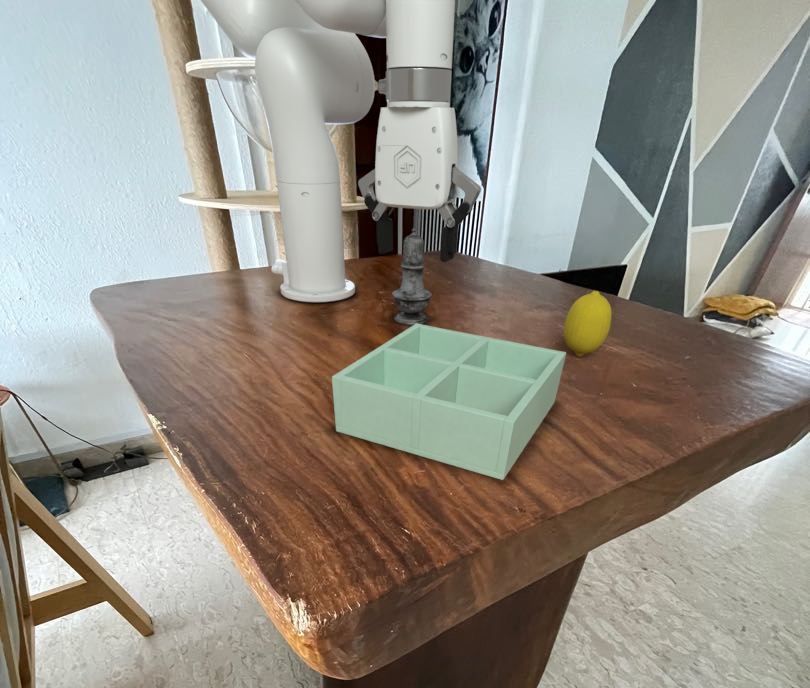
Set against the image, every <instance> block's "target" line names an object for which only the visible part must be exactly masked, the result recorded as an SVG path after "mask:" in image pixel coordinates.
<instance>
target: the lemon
mask: <svg viewBox="0 0 810 688" xmlns="http://www.w3.org/2000/svg"><path fill="white" fill-rule="evenodd" d="M611 323H612V306H611V304H610V302H609V300H608V299H607V298H605V296H603V295H602V294H601V293H600V292H599V291H598V290H592V291H591V292H590V293H586V294H584V295H582V296H580V297H579V298H578V299H576V300H575V301H574V303H573V304H572V305H571V306H570V308H569V310H568V312H567V315H566V317H565V320H564V325H563V339H564V342H565V344H566V346H567V347H568V348H569V349H570V350H571V351H573V352H574V353H575V356H577V357H579V358H581V357H583V356H584V355H586V354H588V353H592V352H594V351H596V350H598V348H600V347H601V346H602V344H603V343H604V342H605V341H606V339H607V337H608V335H609V332H610V330H611Z"/></svg>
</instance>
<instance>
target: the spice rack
mask: <svg viewBox="0 0 810 688" xmlns="http://www.w3.org/2000/svg"><path fill="white" fill-rule="evenodd" d="M566 357H567V352H566V351H561V350H556V349H551V348H547V347H546V348H545V347H541V346H535V345H529V344H525V343H520V342H514V341H510V340H504V339H499V338H494V337H489V336H483V335H478V334H473V333H468V332H463V331H457V330H453V329H447V328H441V327H437V326H432V325H426V324H417V323H416V324H415V325H411V326H410V327H408V328H407V329H405V330H404V331H401V332H400V333H399V334H397V335H396V336H393V338H391V339H389V340H388V341H386V342H384V343H383V344H382V345H379V346H378V347H376V348H375V349H374V350H372V351H370V352H368V353H367V354H366V355H364V356H362V357H361V358H358V360H356V361H354V362H353V363H351V364H350V365H347V366H346V367H345V368H343V369H342V370H340V371H339V372H337V373H335V374H334V375H332V376H331V385H332V397H333V409H334V412H333V413H334V421H335V422H334V423H335V431H336V432H338V433H340V434H344V435H347V436H352V437H354V438H358V439H361V440H365V441H368V442H371V443H375V444H378V445H381V446H384V447H389V448H392V449H395V450H399V451H402V452H406V453H409V454H412V455H416V456H419V457H423V458H426V459H429V460H432V461H436V462H440V463H442V464H446V465H450V466H453V467H456V468H459V469H464V470H467V471H470V472H474V473H477V474H480V475H484V476H488V477H491V478H494V479H498V480H501V481H504V479H505V478H506V477H507V475H508V474H509V472H510V470H511V469H512V468H513V466H514V464H515V463H516V462H517V460H518V458H519V457H520V455H521V454H522V452H523V451H524V449H525V448H526V446H527V445H528V444H529V442H530V440H531V438H532V437H533V436H534V434H535V433H536V431H537V430H538V428H539V427H540V425H541V424H542V423H543V421H544V420H545V418H546V416H547V415H548V413H549V412H550V410H551V409H552V407H553V406H554V404H555V402H556V397H557V394H558V390H559V385H560V381H561V378H562V373H563V369H564V365H565V361H566Z"/></svg>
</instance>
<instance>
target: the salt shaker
mask: <svg viewBox="0 0 810 688" xmlns="http://www.w3.org/2000/svg"><path fill="white" fill-rule="evenodd" d="M416 232H417V229H416V228H415V226H413V227H412V229H411V233H410V234H409V235H407V236H406V237H404V239H403V241H402V242H403V244H402V245H403V246H402V262H401V263H400V264H399V266H400V267H401V270H402V272H401V284H400V287H399V288H398V289H395V290H394V291H392V293H391V294H392V296H393V299H394V303H395V306H396V308H397V309H398V310H399V311H400V312H398V313H397V314H396V315H394V317H393V319H394V321H395V322H397V323H399V324H401V325H402V324H403V325H411V326H413V325H415V324H416V323H417V324H422V325H424V324H426V323H427V322H428V321H429V317H428V315H426V314H425V313H424V311H425V310H426V309H427V308H428V306H429V304H430V299H431V298H432V297H433V293H431V291H430V290H427V289H426V288H425V285H424V268H425V267H426V263H424V250H425V249H424V247H425V242H424V241H425V240H424V239H423V237H422V236H420V235H418V234H417V233H416Z"/></svg>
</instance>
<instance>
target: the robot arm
mask: <svg viewBox="0 0 810 688" xmlns="http://www.w3.org/2000/svg"><path fill="white" fill-rule="evenodd" d="M200 2H201V4H203V6H204V7H205V9H206V10H207V11H208V12H209V14H210V15H211V17H212V18H213V19H214V21H215V22H216V23H217V25H218V26H219V27H220V28H221V31H223V33H224V34H225V36H226V37H227V38H228V39H229V41H230V43H232V45H233V46H234V47H235V48H236V50H238V51H239V52H240V53H241V54H242V55H243V56H245V57H246V58H248V59H251V60H254V73H255V81H256V86H257V87H256V88H257V91H258V95H259V99H260V102H261V105H262V109H263V112H264V117H265V120H266V124H267V128H268V129H267V130H268V134H269V138H270V139H269V140H270V145H271V150H272V157H273V165H274V166H273V167H274V172H275V180H276V187H277V196H278V203H279V205H278V206H279V212H280V220H281V229H282V237H283V244H284V253H285V259H280V258H279V259H278V258H277V259H275V261H274V263H273V265H271V273H272V274H273V275H281V276H282V277H283V282H282V283H281V284H280V286H279V288H280V294H281V295H282V296H283V297H284V298H286V299H289V300H291V301H296V302H302V303H330V302H338V301H341V300H346V299H348V298H351V297H352V296H353V295H354V294H355V293H356V285H355V283H354V282H353V281H351V280H349V279H346V266H345V265H346V264H345V245H344V226H343V208H342V191H341V187H342V186H341V172H340V171H341V170H340V163H339V157H338V154H337V150H336V146H335V144H334V141H333V140H332V136H331V134H330V132H329V129H328V126H327V125H350V124H354V123H357V122H358V121H361V120H362V119H364V118H365V116H366V115H367V114H368V113H369V112H370V109H371V107H372V105H373V103H374V98H375V91H376V89H375V88H376V85H375V84H376V83H375V74H374V69H373V65H372V62H371V59H370V57H369V54H368V52H367V50H366V48H365V47H364V45H363V43H362V42H361V40H360V39H359V37H358V36H357V35H361V36H366V37H372V38H379V39H386V41H385V42H386V45H385V46H386V71H385V78H383V79H379V80H378V83H377V91H378V93H379V94H380V95H385V101H386V106H385V107H380V110H379V111H380V112H379V118H378V126H377V134H376V143H375V162H374V163H375V164H374V166H375V168H374V169H372V170H371V171H370V172H368V173H367V174H365V175H364V176H362V177H361V178H360V179H358V181H357V185H358V187H359V188H358V189H359V190H360V193H361V196H362V198H363V199H364V200H363V201H364V206H366V208H367V209H368V211H369V212H370V213H371V217H372V219H373V221H375V223H376V224H375V226H376V227H375V229H376V231H375V232H376V245H377V250H378V251H377V252H378V254H379V255H382V256H383V255H386V254H388V253H392V252H393V250H394V221H393V218H390V216H391V214H392V212H393V211H394V209H395V208H400V209H401V208H402V209H413V210H429V211H433V210H437V211H438V213H439V215H440V216H441V217H442V218H441V219H442V220H443V222H444V226H443V227H441V233H440V235H441V236H440V254H439V255H440V256H439V260H440V261H441V263H447V262H449V261H452V260H453V259H454V258H455V255H456V254H457V252H458V251H457V250H458V240H459V239H458V238H459V226H460V225H461V224H462V223H463V221H464V220H465V219H466V218H467V217H468V216H469V215H470V214H471V212H473V208H474V205H475V204H476V203H477V200H478V198H479V196H480V194H481V192H482V187H481V186H480V184H478V183H477V182H475V180H473V179H471V177H469V176H468V175H467V174H466V173H464V172H463V171H461V170H460V169H459V152H458V151H459V149H458V148H459V147H458V131H457V119H456V111H455V107H451V93H452V92H451V91H452V69H453V52H454V49H453V48H454V31H455V30H454V29H455V9H456V0H200ZM356 34H357V35H356ZM458 188H459V189H461V190H462V191H463V193H464V198H463V200H462V202H461V204H460V205H458V207H457V205H456V203H455V202H456V199H457V192H458Z"/></svg>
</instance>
